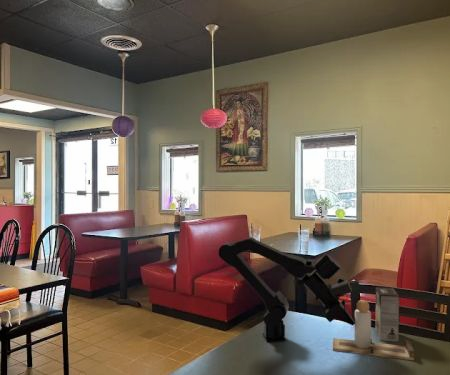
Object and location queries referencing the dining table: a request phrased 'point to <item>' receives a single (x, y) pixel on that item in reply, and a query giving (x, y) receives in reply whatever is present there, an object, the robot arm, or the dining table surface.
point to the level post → (362, 325)
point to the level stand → (375, 349)
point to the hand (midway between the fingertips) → (353, 324)
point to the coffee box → (387, 314)
